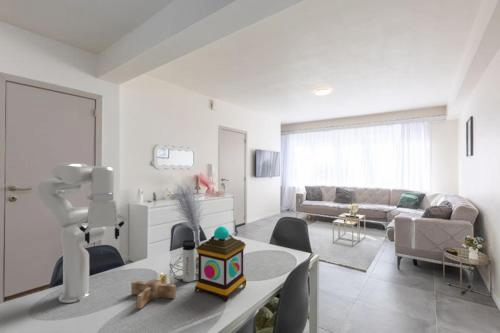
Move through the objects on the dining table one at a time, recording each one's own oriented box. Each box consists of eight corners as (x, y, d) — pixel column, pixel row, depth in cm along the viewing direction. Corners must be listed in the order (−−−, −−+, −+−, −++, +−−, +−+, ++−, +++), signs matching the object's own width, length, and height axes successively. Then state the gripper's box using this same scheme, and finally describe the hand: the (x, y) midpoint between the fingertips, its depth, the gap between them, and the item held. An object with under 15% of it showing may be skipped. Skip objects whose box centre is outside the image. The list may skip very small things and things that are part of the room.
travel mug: (189, 277, 129) (190, 238, 129) (198, 281, 124) (198, 241, 124) (179, 281, 124) (179, 241, 124) (187, 285, 120) (187, 244, 120)
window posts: (159, 283, 119) (159, 273, 119) (170, 280, 123) (170, 270, 123) (162, 288, 115) (162, 277, 115) (174, 284, 118) (174, 274, 118)
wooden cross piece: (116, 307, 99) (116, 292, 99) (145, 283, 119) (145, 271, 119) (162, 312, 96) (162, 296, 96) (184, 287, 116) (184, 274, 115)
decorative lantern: (216, 276, 129) (216, 219, 129) (250, 285, 120) (250, 224, 120) (190, 294, 112) (190, 228, 111) (227, 306, 102) (227, 234, 102)
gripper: (76, 200, 90) (76, 247, 90) (128, 197, 101) (128, 239, 101) (75, 198, 96) (75, 242, 96) (124, 195, 107) (124, 234, 107)
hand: (102, 240), depth 99 cm, fingers open, 9 cm apart
